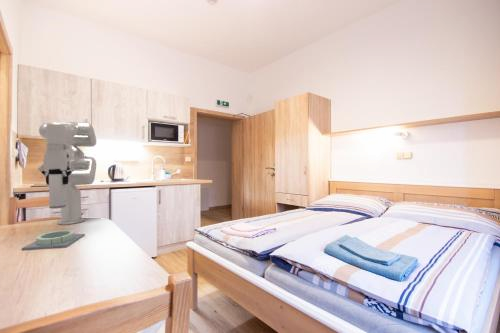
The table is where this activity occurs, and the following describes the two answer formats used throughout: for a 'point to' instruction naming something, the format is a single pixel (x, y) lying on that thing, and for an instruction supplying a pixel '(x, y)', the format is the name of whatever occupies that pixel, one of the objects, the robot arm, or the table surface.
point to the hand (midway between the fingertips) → (57, 184)
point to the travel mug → (56, 189)
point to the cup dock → (62, 245)
